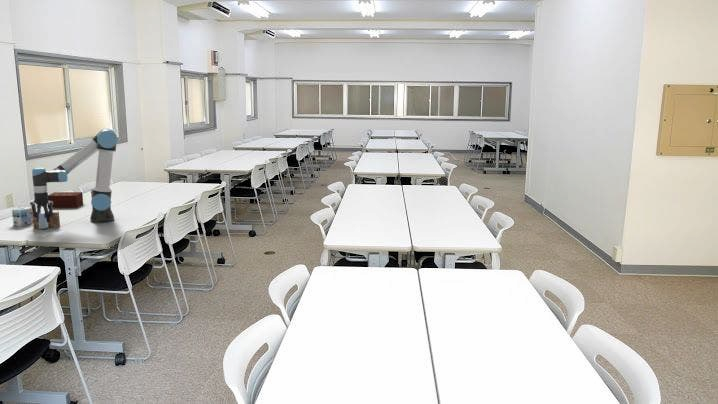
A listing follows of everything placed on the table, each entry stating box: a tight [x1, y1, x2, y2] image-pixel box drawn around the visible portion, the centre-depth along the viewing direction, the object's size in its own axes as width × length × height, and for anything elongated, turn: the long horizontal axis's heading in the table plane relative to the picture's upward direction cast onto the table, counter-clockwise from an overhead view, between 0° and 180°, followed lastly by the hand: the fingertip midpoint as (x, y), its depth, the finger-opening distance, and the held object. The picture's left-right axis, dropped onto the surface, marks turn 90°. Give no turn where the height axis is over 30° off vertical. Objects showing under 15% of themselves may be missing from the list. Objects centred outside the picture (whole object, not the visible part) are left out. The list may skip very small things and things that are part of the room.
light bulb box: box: [11, 206, 33, 227], centre depth 352 cm, size 11×7×11 cm, turn 168°
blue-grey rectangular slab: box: [39, 208, 54, 230], centre depth 346 cm, size 14×3×10 cm, turn 9°
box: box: [47, 191, 84, 209], centre depth 412 cm, size 21×16×10 cm
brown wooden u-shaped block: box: [32, 211, 61, 229], centre depth 346 cm, size 15×3×10 cm, turn 99°
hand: (44, 227), depth 342 cm, fingers closed on blue-grey rectangular slab, 3 cm apart
